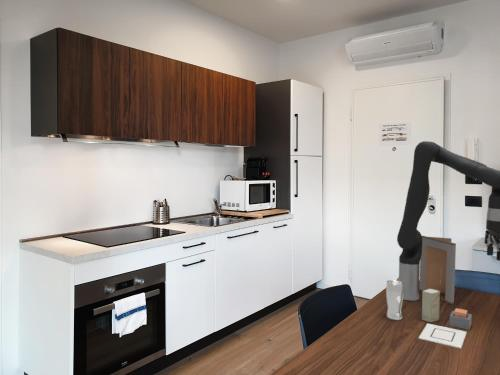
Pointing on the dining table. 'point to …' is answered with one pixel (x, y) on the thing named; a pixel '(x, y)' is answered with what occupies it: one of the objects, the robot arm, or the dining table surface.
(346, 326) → the dining table surface
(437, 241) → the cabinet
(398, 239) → the robot arm
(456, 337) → the paper sheet
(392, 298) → the beer glass
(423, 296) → the skincare box
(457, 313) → the button
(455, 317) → the button housing
